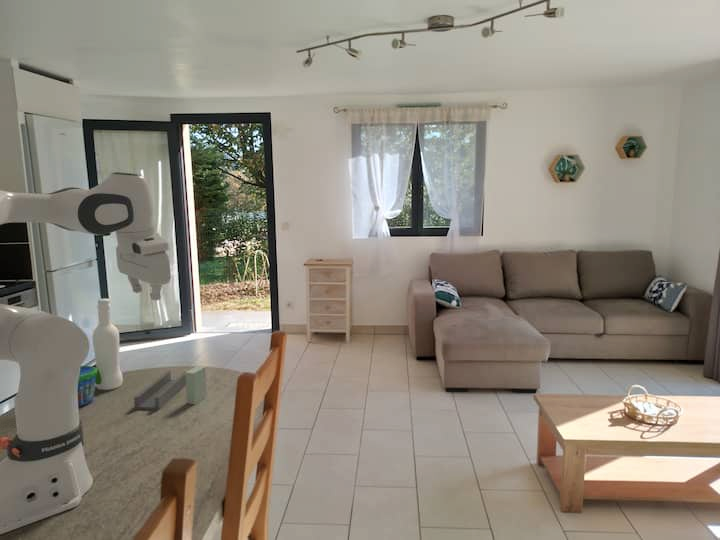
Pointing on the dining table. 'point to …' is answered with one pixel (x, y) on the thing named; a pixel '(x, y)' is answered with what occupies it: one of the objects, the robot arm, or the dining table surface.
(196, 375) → the door panel
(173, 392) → the track
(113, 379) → the bottle
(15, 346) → the robot arm
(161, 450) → the dining table surface
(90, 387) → the snack cup
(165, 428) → the dining table surface
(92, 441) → the dining table surface
